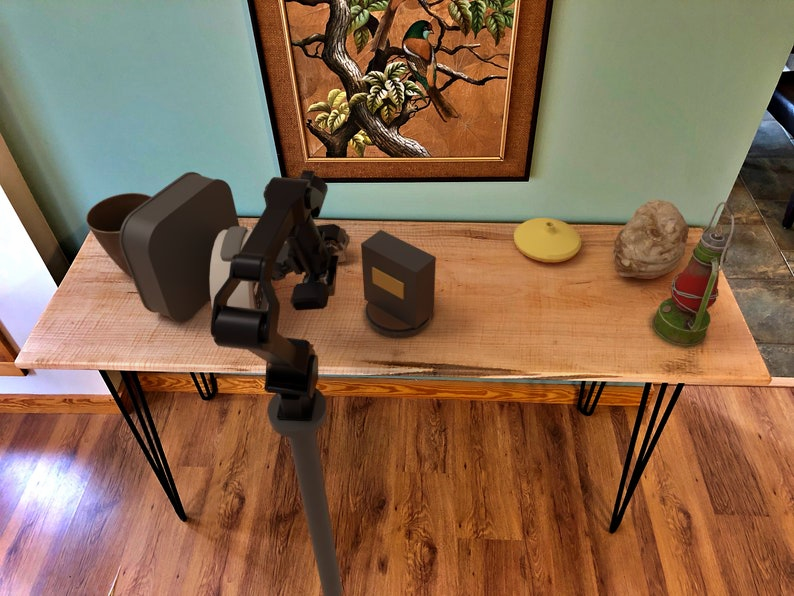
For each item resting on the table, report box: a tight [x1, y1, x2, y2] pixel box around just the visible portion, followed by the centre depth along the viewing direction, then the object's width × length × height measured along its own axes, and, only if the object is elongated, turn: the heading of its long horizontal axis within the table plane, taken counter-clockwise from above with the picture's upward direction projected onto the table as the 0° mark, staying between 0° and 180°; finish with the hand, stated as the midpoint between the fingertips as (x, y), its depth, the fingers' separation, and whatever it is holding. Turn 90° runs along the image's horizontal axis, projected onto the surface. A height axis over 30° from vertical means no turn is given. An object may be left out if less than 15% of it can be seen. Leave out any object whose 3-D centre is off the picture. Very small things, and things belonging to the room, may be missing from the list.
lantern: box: [651, 201, 735, 349], centre depth 119 cm, size 14×11×30 cm
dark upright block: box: [360, 229, 437, 330], centre depth 126 cm, size 13×14×16 cm
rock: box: [612, 199, 690, 280], centre depth 138 cm, size 18×16×15 cm
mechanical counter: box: [327, 227, 351, 263], centre depth 146 cm, size 7×13×10 cm
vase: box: [513, 217, 582, 263], centre depth 146 cm, size 16×16×7 cm
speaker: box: [119, 171, 240, 323], centre depth 131 cm, size 25×9×25 cm, turn 154°
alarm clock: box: [210, 225, 273, 311], centre depth 127 cm, size 21×8×20 cm, turn 179°
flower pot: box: [85, 192, 152, 279], centre depth 139 cm, size 15×15×16 cm
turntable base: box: [365, 301, 432, 339], centre depth 132 cm, size 14×14×2 cm
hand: (332, 294), depth 119 cm, fingers closed
